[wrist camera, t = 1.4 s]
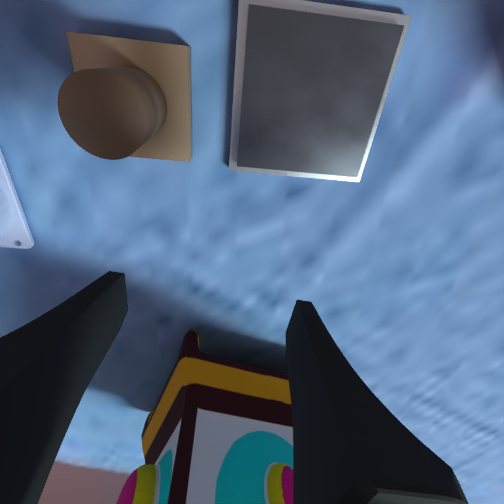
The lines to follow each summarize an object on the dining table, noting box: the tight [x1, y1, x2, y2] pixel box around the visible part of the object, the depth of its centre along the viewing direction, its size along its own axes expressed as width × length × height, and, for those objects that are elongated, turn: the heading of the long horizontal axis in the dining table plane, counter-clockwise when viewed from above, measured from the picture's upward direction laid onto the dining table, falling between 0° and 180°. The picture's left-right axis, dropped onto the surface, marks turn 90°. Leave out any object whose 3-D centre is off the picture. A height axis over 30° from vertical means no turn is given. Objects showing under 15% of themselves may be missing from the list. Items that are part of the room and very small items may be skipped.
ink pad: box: [229, 0, 412, 182], centre depth 17 cm, size 9×9×1 cm
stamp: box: [58, 31, 192, 162], centre depth 15 cm, size 6×6×6 cm
